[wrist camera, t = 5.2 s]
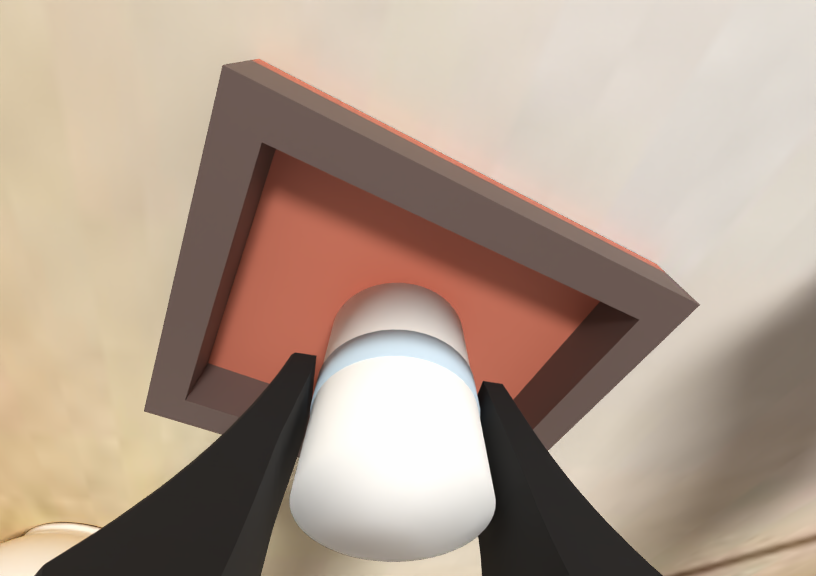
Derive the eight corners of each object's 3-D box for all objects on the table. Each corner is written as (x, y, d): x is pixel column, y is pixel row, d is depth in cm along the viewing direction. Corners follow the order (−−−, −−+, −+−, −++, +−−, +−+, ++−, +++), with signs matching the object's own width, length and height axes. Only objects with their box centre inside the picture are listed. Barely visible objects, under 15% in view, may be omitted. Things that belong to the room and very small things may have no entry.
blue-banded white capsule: (482, 296, 13) (529, 458, 8) (444, 396, 16) (462, 571, 11) (340, 268, 13) (296, 424, 8) (322, 376, 15) (280, 551, 10)
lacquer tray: (656, 264, 14) (700, 304, 12) (475, 461, 20) (483, 512, 18) (258, 59, 11) (222, 64, 9) (177, 363, 17) (143, 411, 15)
